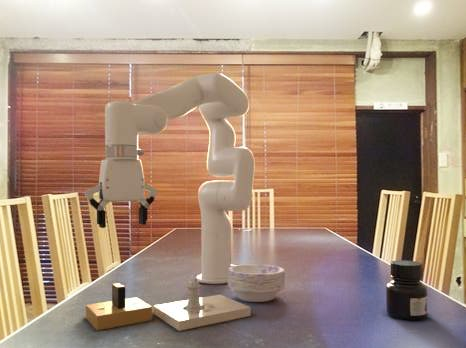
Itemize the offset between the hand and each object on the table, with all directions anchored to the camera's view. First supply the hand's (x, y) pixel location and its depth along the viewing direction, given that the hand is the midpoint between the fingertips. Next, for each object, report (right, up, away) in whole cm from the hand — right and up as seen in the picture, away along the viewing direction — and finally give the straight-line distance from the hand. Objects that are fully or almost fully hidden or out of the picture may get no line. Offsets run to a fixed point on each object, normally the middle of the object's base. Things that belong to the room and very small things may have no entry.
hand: (122, 225), depth 102 cm
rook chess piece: (+17, -21, -3) cm, 27 cm away
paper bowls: (+32, -21, +12) cm, 40 cm away
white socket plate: (+19, -21, -2) cm, 28 cm away
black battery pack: (0, -18, -5) cm, 18 cm away
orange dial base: (0, -21, -5) cm, 21 cm away
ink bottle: (+66, -20, -3) cm, 70 cm away
